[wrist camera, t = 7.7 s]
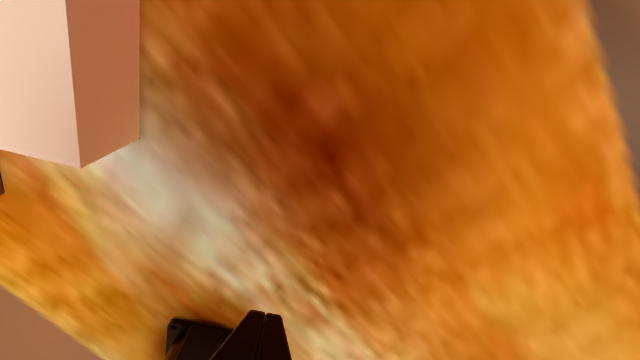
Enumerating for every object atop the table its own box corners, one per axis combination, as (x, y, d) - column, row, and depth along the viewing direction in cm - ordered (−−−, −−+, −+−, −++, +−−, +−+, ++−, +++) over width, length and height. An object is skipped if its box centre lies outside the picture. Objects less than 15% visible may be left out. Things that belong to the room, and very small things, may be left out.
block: (141, 137, 18) (80, 168, 14) (-11, 99, 18) (-128, 118, 13) (142, -9, 15) (62, -30, 11) (-46, -64, 14) (-218, -111, 10)
